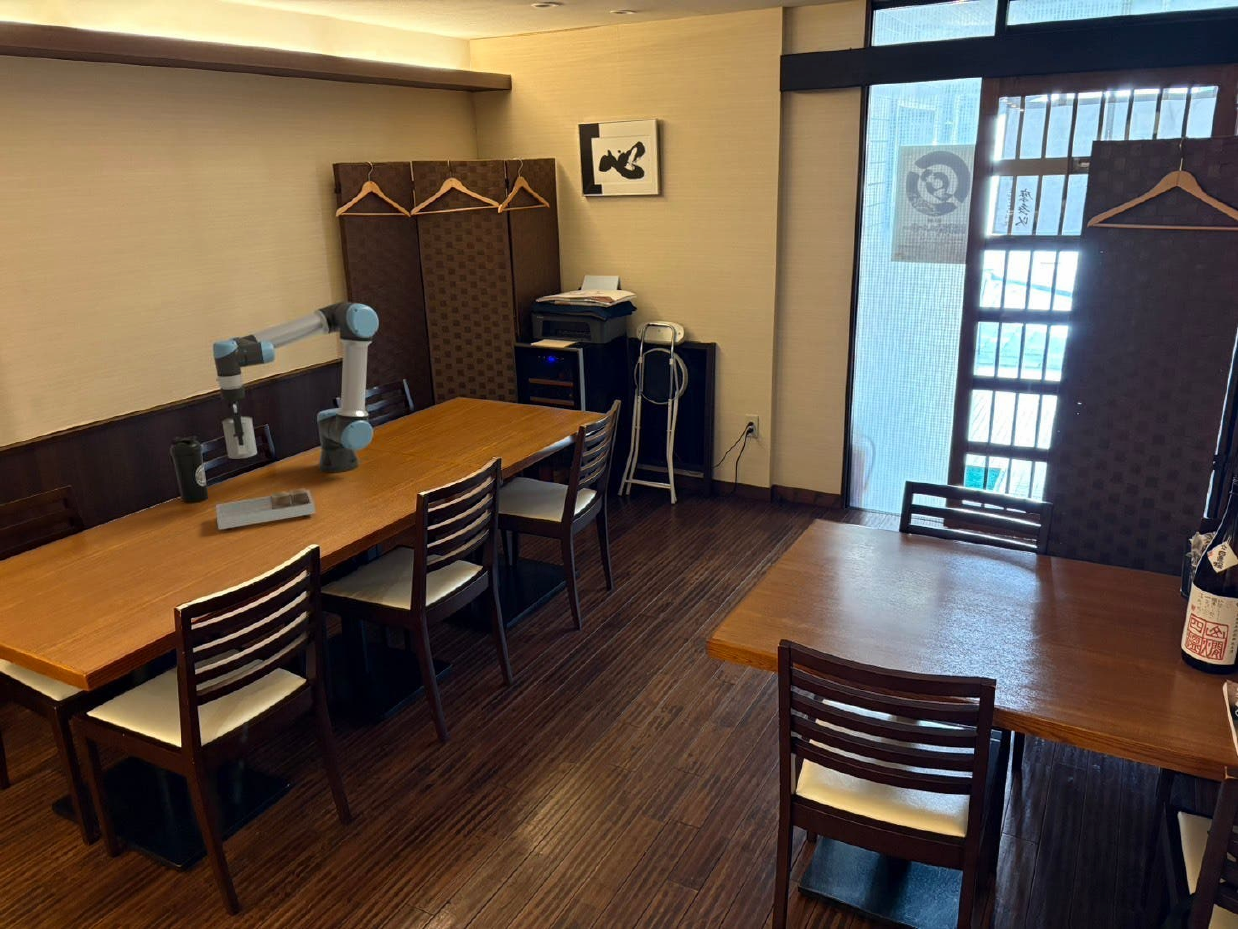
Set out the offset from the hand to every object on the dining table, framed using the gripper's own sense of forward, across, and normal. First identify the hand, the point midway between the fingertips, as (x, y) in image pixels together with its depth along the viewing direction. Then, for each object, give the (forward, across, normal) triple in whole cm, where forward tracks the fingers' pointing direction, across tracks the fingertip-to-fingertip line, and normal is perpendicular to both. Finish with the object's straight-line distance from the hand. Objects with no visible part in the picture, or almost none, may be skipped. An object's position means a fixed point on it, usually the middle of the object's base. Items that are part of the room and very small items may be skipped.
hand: (242, 449), depth 311 cm
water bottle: (+20, -13, -18) cm, 30 cm away
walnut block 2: (+17, +19, +15) cm, 29 cm away
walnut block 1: (+17, +19, +9) cm, 27 cm away
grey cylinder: (+2, 0, 0) cm, 2 cm away
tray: (+20, +19, +4) cm, 27 cm away
